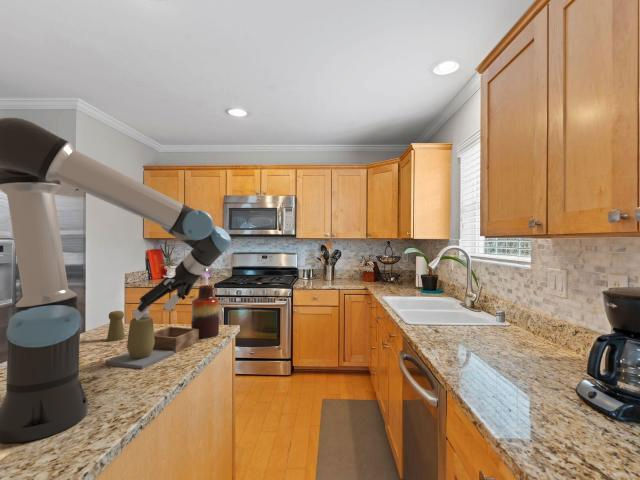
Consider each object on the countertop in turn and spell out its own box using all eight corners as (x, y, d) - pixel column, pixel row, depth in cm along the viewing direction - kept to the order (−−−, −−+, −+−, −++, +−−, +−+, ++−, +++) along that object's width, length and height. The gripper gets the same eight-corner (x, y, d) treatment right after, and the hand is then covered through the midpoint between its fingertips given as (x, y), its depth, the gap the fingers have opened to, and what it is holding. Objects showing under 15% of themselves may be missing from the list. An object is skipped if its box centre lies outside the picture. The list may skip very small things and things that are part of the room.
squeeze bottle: (143, 361, 102) (144, 303, 103) (120, 359, 104) (121, 302, 104) (160, 353, 110) (161, 299, 111) (138, 351, 112) (139, 298, 112)
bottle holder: (175, 352, 114) (176, 338, 114) (144, 349, 117) (144, 335, 117) (198, 342, 126) (198, 329, 126) (169, 339, 130) (170, 326, 130)
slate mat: (142, 369, 99) (142, 365, 99) (105, 364, 102) (105, 361, 102) (174, 354, 112) (174, 351, 112) (140, 350, 116) (140, 347, 116)
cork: (110, 337, 132) (111, 309, 132) (127, 336, 133) (127, 309, 133) (103, 341, 126) (104, 312, 126) (121, 341, 127) (121, 312, 127)
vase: (186, 338, 131) (187, 287, 132) (197, 331, 142) (198, 284, 142) (213, 339, 131) (214, 287, 131) (222, 331, 142) (222, 284, 142)
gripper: (172, 280, 91) (127, 330, 94) (220, 273, 115) (183, 313, 119) (157, 260, 93) (112, 311, 96) (207, 257, 117) (170, 298, 120)
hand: (151, 312), depth 107 cm, fingers open, 13 cm apart
